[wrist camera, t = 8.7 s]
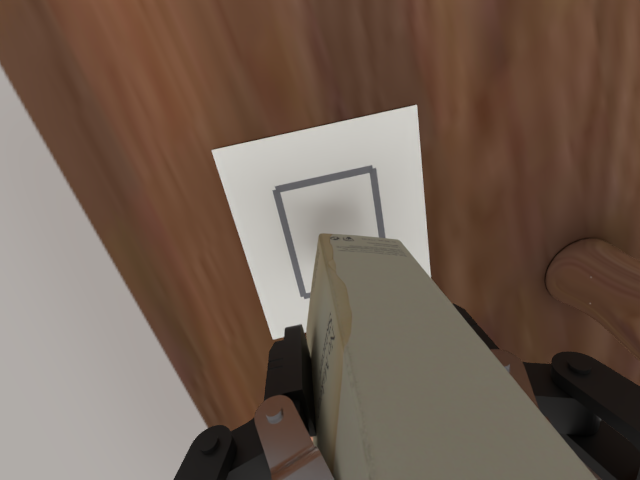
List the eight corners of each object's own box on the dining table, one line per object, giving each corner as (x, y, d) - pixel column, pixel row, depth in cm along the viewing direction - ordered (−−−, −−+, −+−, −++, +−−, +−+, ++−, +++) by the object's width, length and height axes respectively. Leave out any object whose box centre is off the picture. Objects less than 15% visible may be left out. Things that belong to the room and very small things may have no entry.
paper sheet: (414, 105, 21) (417, 104, 21) (431, 302, 27) (433, 305, 27) (212, 149, 21) (211, 150, 21) (273, 336, 27) (272, 339, 27)
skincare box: (317, 230, 16) (370, 528, 4) (403, 238, 16) (658, 525, 5) (305, 334, 18) (317, 711, 6) (380, 338, 18) (516, 697, 7)
